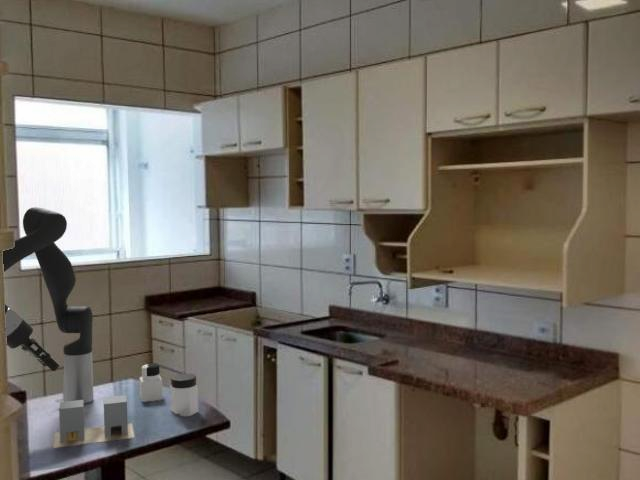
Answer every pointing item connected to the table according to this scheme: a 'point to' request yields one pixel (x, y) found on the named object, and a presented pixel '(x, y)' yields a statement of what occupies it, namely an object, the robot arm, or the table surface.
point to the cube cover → (71, 419)
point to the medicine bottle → (151, 383)
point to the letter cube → (72, 435)
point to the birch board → (95, 436)
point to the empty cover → (115, 414)
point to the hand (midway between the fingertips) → (52, 366)
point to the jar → (184, 394)
